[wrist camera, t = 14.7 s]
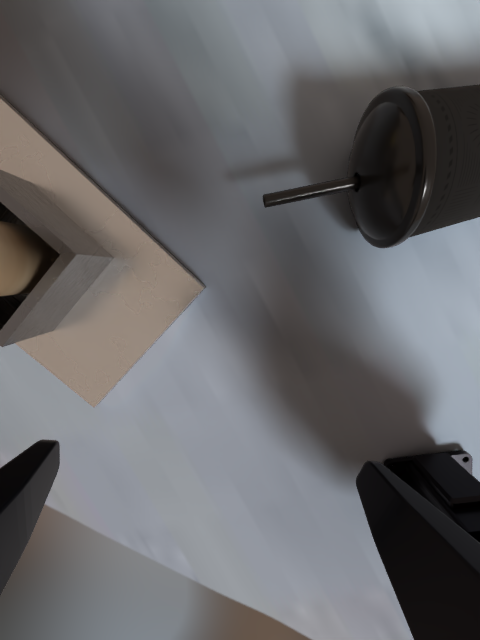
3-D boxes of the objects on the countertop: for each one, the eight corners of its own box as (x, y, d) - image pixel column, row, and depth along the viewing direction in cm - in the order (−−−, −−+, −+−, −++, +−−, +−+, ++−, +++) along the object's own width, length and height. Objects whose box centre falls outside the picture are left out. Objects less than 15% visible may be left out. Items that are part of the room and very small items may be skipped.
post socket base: (206, 286, 19) (192, 292, 14) (102, 399, 21) (56, 441, 16) (-4, 91, 17) (-110, 14, 12) (-99, 233, 19) (-228, 220, 14)
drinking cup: (581, 228, 17) (274, 288, 18) (531, 133, 19) (252, 190, 20) (825, 113, 10) (285, 221, 10) (705, -26, 12) (248, 73, 12)
